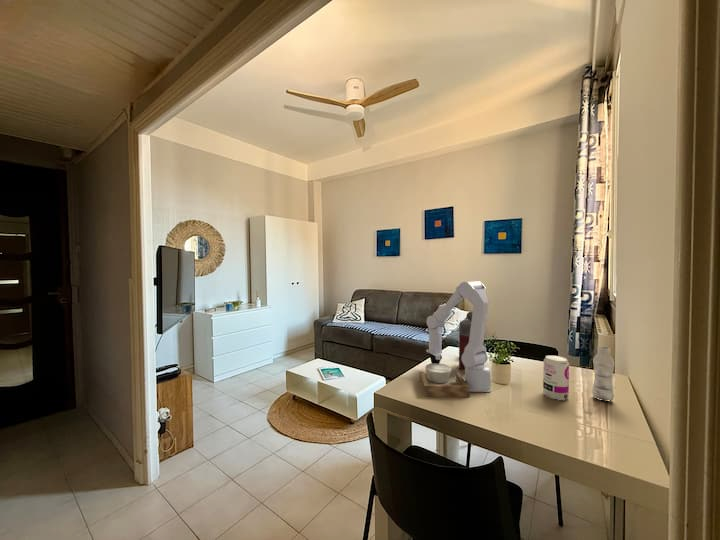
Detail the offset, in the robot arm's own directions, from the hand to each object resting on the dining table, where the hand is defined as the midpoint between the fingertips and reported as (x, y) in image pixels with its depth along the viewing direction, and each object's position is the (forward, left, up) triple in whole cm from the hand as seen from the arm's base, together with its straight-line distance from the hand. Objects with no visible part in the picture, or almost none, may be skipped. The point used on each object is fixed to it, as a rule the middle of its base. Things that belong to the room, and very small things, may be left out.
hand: (435, 369), depth 141 cm
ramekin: (0, +7, -2) cm, 7 cm away
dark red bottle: (-19, -7, -2) cm, 20 cm away
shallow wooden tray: (0, +16, -1) cm, 16 cm away
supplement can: (-42, +22, -2) cm, 47 cm away
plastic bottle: (-58, +24, -2) cm, 63 cm away
